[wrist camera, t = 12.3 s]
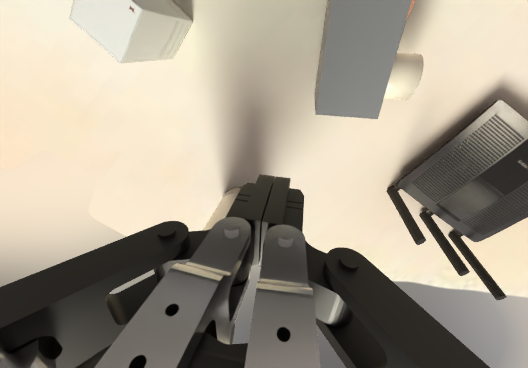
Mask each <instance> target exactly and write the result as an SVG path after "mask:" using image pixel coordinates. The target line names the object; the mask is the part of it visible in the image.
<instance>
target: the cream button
mask: <svg viewBox="0 0 528 368" xmlns="http://www.w3.org/2000/svg"><path fill="white" fill-rule="evenodd" d="M422 71H423V57H422V55H421V54H400V53H397V54H396V57H395V61H394V64H393V68H392V71H391V75H390V78H389V81H388V85H387V88H386V92H385V95H384V98H385V99H401V100H407V99H409V98H410V97H411V96H412V95H413V94H414V92H415V90H416V88H417V86H418V84H419V82H420V79H421V75H422Z"/></svg>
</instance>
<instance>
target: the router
mask: <svg viewBox="0 0 528 368" xmlns="http://www.w3.org/2000/svg"><path fill="white" fill-rule="evenodd" d="M400 189H403V190H404V191H405V192H406V193H408V194H409V195H410V196H412V197H413V198H414V199H415V200H417V201H418V202H419V203H421V204H422V205H423V206H425V207H426V208H427V209H429V210H430V211H429V212H428V213H427V212H426V211H424V212H422V213H420V215H419V216H420V217H421V219H422V220H423V222H424V223H425V225H426V226H427V228H428V229H429V231H430V232H431V234H432V235H433V237H434V238H435V240H436V241H437V243H438V244H439V246H440V247H441V249H442V250H443V252H444V253H445V255H446V256H447V258H448V259H449V261H450V262H451V264H452V265H453V267H454V268H455V270H456V271H457V273H458V274H459V275H460V276H463V275H466V274H467V273H469V272H470V271H469V270H468V269H467V267H466V266H465V264H464V263H463V261H462V260H461V259H460V257H459V256H458V254H457V253H456V252H455V250H454V249H453V247H452V246H451V244H450V243H449V242H448V240H447V239H446V237H445V236H444V234H443V233H442V232H441V230H440V229H439V227H438V226H437V224H436V223H435V222H434V220H433V219H432V217H431V216H432V215H433V214H435V215H437V216H438V217H439V218H441V219H442V220H444V221H445V222H446V223H448V224H449V225H451V226H452V227H453V228H455V229H456V230H458V231H459V232H458V233H455V232H452V233H450V234H449V235H448V236H449V237H450V239H451V240H452V241H453V243H454V244H455V245H456V247H457V248H458V249H459V251H460V252H461V253H462V255H463V256H464V257H465V259H466V260H467V261H468V263H469V264H470V265H471V267H472V268H473V269H474V271H475V272H476V273H477V275H478V276H479V277H480V279H481V280H482V281H483V283H484V284H485V285H486V287H487V288H488V289H489V291H490V292H491V293H492V295H493V296H494V297H495V299H497V300H501V299H504V298H505V297H506V295H505V294H504V293H503V291H502V290H501V289H500V287H499V286H498V285H497V284H496V282H495V281H494V280H493V279H492V277H491V276H490V275H489V273H488V272H487V271H486V270H485V268H484V267H483V266H482V265H481V263H480V262H479V261H478V259H477V258H476V257H475V256H474V254H473V253H472V252H471V250H470V249H469V248H468V247H467V245H466V244H465V243H464V241H463V240H462V239H461V238H460V237H461V236H463V235H465V236H466V237H468V238H469V239H471V240H472V241H473V242H479V241H482V240H484V239H486V238H488V237H490V236H492V235H494V234H496V233H498V232H500V231H502V230H504V229H506V228H508V227H510V226H512V225H513V224H515V223H517V222H519V221H521V220H523V219H525V218H527V217H528V121H527V120H526V119H525V118H523V117H522V116H521V115H520V114H518V113H517V112H516V111H515V110H514V109H512V108H511V107H510V106H509V105H507V104H506V103H505V102H504V101H502V100H497V101H495V102H494V103H493V104H492V105H491V106H490V107H488V108H487V109H486V110H485V111H484V112H483V113H482V114H480V115H479V116H478V117H477V118H476V119H475V120H474V121H472V122H471V123H470V124H469V125H468V126H466V127H465V128H464V129H463V130H462V131H461V132H459V133H458V134H457V135H456V136H455V137H453V138H452V139H451V140H450V141H449V142H447V143H446V144H445V145H444V146H442V147H441V148H440V149H439V150H437V151H436V152H435V153H434V154H433V155H431V156H430V157H429V158H428V159H426V160H425V161H424V162H423V163H421V164H420V165H419V166H418V167H416V168H415V169H414V170H413V171H411V172H410V173H409V174H407V175H406V176H405V177H403V178H402V179H401V180H400V181H399V182H398V185H397V186H396V187H395V188H394V187H390V188H388V189H387V193H388V194H389V196H390V198H391V200H392V201H393V203H394V205H395V207H396V209H397V210H398V212H399V214H400V216H401V218H402V219H403V221H404V223H405V225H406V227H407V229H408V230H409V232H410V234H411V236H412V238H413V239H414V241H415V243H416V244H417V245H420V244H422V243H424V242H425V241H426V239H425V237H424V236H423V234H422V232H421V230H420V229H419V227H418V225H417V224H416V222H415V220H414V219H413V217H412V215H411V214H410V212H409V210H408V208H407V207H406V205H405V203H404V202H403V200H402V198H401V196H400V195H399V193H398V191H399V190H400Z"/></svg>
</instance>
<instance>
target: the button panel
mask: <svg viewBox="0 0 528 368" xmlns="http://www.w3.org/2000/svg"><path fill="white" fill-rule="evenodd" d="M411 1H412V0H328V1H327V9H326V16H325V23H324V31H323V38H322V45H321V52H320V60H319V67H318V74H317V82H316V89H315V112H316V115H330V116H343V117H357V118H370V119H378V116H379V113H380V109H381V106H382V102H383V99H384V95H385V92H386V88H387V85H388V81H389V78H390V75H391V71H392V68H393V64H394V61H395V57H396V54H397V50H398V47H399V43H400V40H401V36H402V33H403V29H404V26H405V22H406V19H407V15H408V12H409V8H410V5H411Z"/></svg>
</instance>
